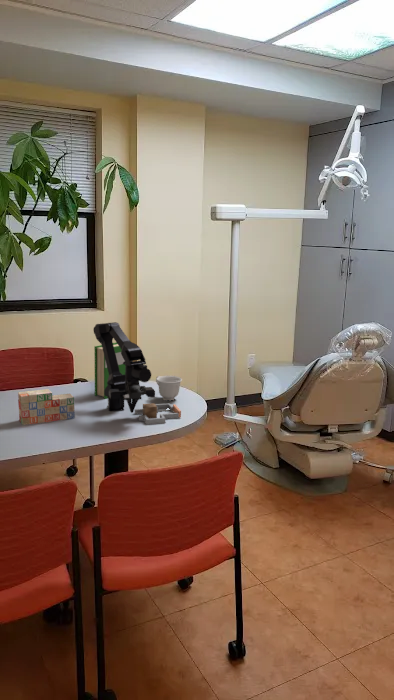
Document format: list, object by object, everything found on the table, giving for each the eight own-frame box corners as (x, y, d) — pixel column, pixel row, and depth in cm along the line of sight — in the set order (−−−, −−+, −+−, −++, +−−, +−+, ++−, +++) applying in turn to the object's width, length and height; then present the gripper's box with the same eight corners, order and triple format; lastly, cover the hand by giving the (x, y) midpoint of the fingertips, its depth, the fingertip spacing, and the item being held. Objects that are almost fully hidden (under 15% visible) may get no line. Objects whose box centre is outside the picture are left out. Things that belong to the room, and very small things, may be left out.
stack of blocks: (70, 414, 232) (70, 386, 230) (74, 418, 227) (74, 390, 224) (18, 420, 222) (17, 391, 220) (21, 425, 217) (20, 395, 214)
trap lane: (141, 424, 222) (141, 417, 221) (132, 410, 240) (132, 403, 239) (183, 421, 228) (184, 414, 227) (172, 407, 245) (172, 401, 245)
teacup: (165, 392, 267) (166, 373, 265) (186, 399, 257) (187, 379, 255) (146, 397, 259) (147, 376, 257) (167, 404, 249) (168, 383, 247)
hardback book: (105, 399, 254) (105, 348, 249) (94, 395, 259) (94, 346, 254) (132, 391, 268) (132, 343, 263) (121, 388, 272) (122, 341, 267)
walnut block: (145, 418, 230) (145, 407, 228) (142, 415, 234) (142, 403, 233) (156, 418, 231) (156, 406, 230) (154, 414, 236) (154, 403, 235)
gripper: (112, 383, 216) (112, 420, 220) (158, 380, 222) (157, 417, 225) (108, 375, 227) (108, 411, 230) (152, 373, 232) (151, 408, 236)
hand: (131, 412), depth 230 cm, fingers closed
